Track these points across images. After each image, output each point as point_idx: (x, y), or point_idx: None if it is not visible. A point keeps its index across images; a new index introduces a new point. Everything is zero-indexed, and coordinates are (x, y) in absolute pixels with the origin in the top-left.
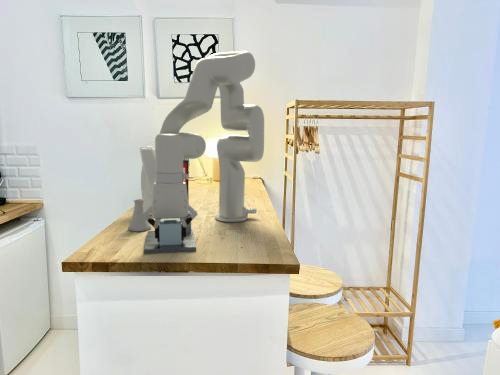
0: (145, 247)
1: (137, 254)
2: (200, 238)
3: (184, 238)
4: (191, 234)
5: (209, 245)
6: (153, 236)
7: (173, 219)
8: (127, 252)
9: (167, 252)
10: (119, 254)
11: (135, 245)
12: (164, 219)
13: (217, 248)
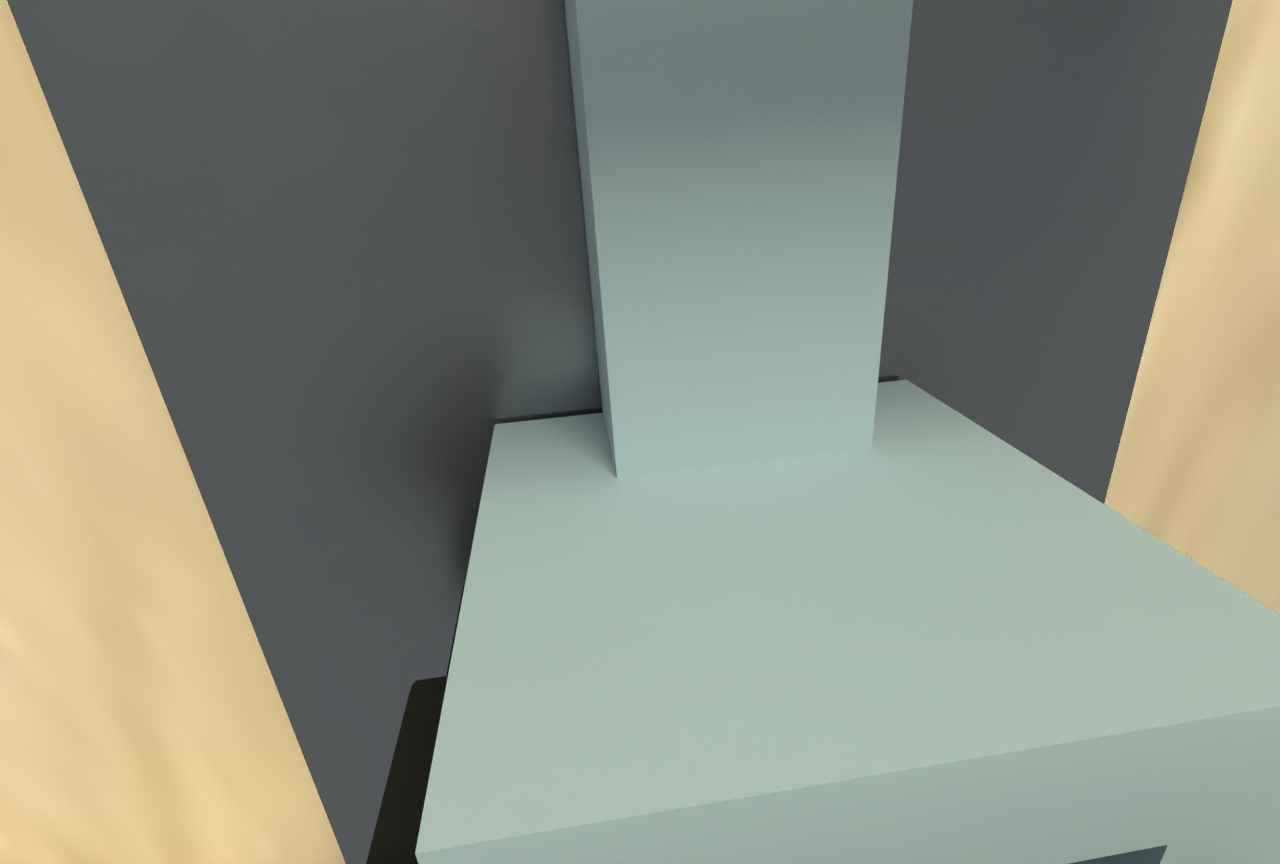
0: (338, 801)
1: (278, 824)
2: (1252, 124)
3: (967, 384)
4: (1172, 88)
5: (1231, 503)
6: (274, 193)
7: (1061, 810)
8: (90, 778)
9: None
10: (11, 841)
11: (48, 498)
12: (661, 857)
13: (1270, 607)
